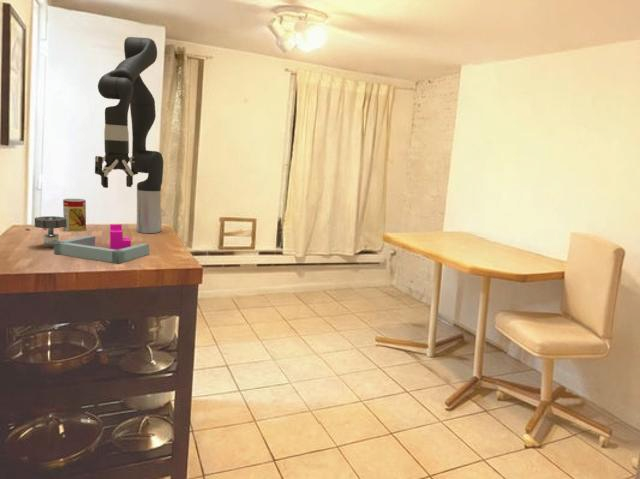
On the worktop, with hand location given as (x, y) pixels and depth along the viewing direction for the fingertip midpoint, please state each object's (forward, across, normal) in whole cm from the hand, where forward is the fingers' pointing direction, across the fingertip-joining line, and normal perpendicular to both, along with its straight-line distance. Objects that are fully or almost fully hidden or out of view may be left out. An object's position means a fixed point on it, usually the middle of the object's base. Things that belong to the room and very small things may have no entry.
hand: (117, 187), depth 161 cm
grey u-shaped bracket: (+21, +10, +8) cm, 24 cm away
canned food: (+21, -2, -36) cm, 42 cm away
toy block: (+21, +2, +4) cm, 22 cm away
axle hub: (+21, +18, -10) cm, 29 cm away
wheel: (+14, +18, -10) cm, 25 cm away
